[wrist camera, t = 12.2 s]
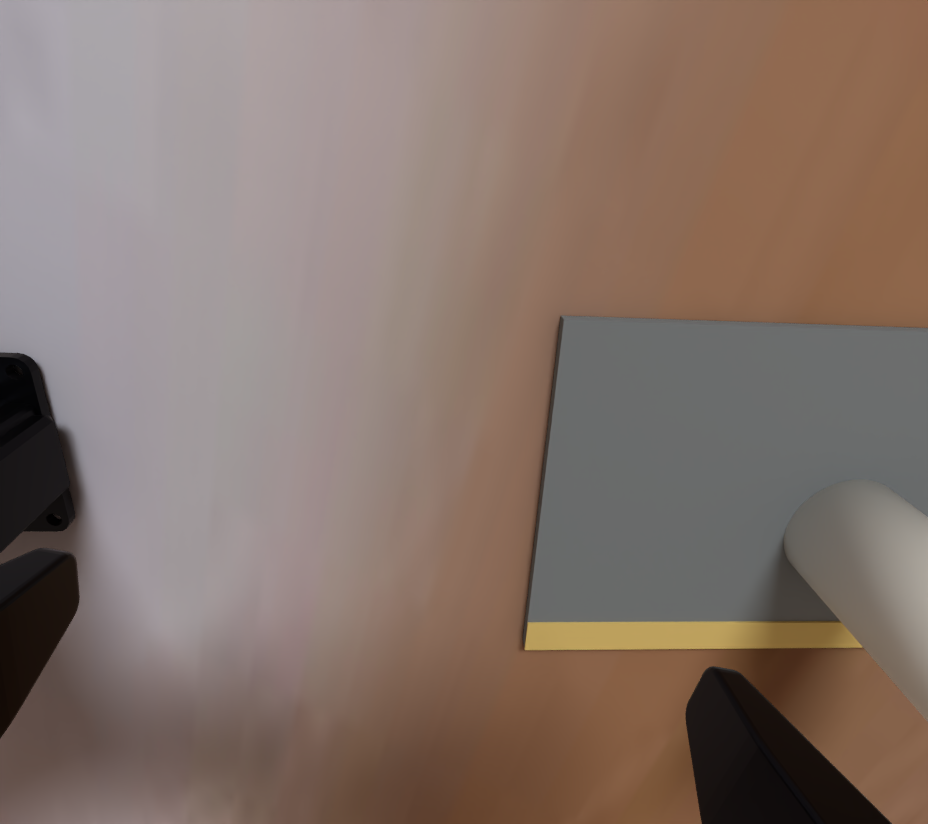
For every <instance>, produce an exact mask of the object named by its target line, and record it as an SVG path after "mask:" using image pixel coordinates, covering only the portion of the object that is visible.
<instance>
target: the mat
mask: <svg viewBox="0 0 928 824" xmlns="http://www.w3.org/2000/svg"><path fill="white" fill-rule="evenodd" d="M861 479H863V480H871V481H875V482H879V483H881V484H883V485H885V486H887V487H888V488H890V489H891V490H892V491H894V492H895V493H896V494H898V495H899V496H900V497H902V498H903V499H904V500H906V501H907V502H908V503H910V504H911V505H912V506H914V507H915V508H916V509H918V510H919V511H920V512H922V513H923V514H924V515H926V516H927V517H928V328H908V327H879V326H850V325H820V324H791V323H762V322H732V321H703V320H674V319H644V318H615V317H586V316H561V318H560V327H559V335H558V344H557V352H556V361H555V369H554V378H553V386H552V394H551V403H550V411H549V420H548V428H547V437H546V445H545V454H544V462H543V471H542V479H541V488H540V496H539V505H538V513H537V522H536V530H535V539H534V547H533V556H532V564H531V573H530V581H529V589H528V598H527V606H526V615H525V623H524V632H523V644H524V649H525V650H610V649H746V648H863V647H862V645H861V644H860V643H859V642H858V641H857V640H856V639H855V637H854V636H853V635H852V634H851V633H850V632H849V630H848V629H847V628H846V627H845V626H844V625H843V624H842V622H841V621H840V620H839V619H838V618H837V617H836V615H835V614H834V613H833V612H832V611H831V610H830V609H829V607H828V606H827V605H826V604H825V603H824V602H823V600H822V599H821V598H820V597H819V596H818V595H817V594H816V592H815V591H814V590H813V589H812V588H811V587H810V585H809V584H808V583H807V582H806V581H805V580H804V579H803V577H802V576H801V575H800V574H799V573H798V572H797V570H796V569H795V568H794V567H793V566H792V565H791V564H790V562H789V560H788V559H787V557H786V554H785V550H784V536H785V532H786V528H787V526H788V524H789V522H790V520H791V518H792V516H793V515H794V514H795V512H796V511H797V510H798V509H799V507H800V506H801V505H802V504H803V503H804V502H806V501H807V500H808V499H809V498H810V497H812V496H813V495H814V494H816V493H817V492H819V491H821V490H823V489H824V488H827V487H829V486H831V485H834V484H837V483H839V482H844V481H848V480H861Z"/></svg>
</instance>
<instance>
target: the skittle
mask: <svg viewBox="0 0 928 824" xmlns="http://www.w3.org/2000/svg"><path fill="white" fill-rule="evenodd" d="M784 550H785V554H786V557H787V559H788V560H789V562H790V564H791V565H792V566H793V567H794V568H795V569H796V570H797V572H798V573H799V574H800V575H801V576H802V577H803V579H804V580H805V581H806V582H807V583H808V584H809V585H810V587H811V588H812V589H813V590H814V591H815V592H816V594H817V595H818V596H819V597H820V598H821V599H822V600H823V602H824V603H825V604H826V605H827V606H828V607H829V609H830V610H831V611H832V612H833V613H834V614H835V615H836V617H837V618H838V619H839V620H840V621H841V622H842V624H843V625H844V626H845V627H846V628H847V629H848V630H849V632H850V633H851V634H852V635H853V636H854V637H855V639H856V640H857V641H858V642H859V643H860V644H861V645H862V647H863V648H864V649H865V650H866V651H867V652H868V654H869V655H870V656H871V657H872V658H873V659H874V660H875V662H876V663H877V664H878V665H879V666H880V667H881V669H882V670H883V671H884V672H885V673H886V674H887V675H888V677H889V678H890V679H891V680H892V681H893V682H894V684H895V685H896V686H897V687H898V688H899V689H900V690H901V692H902V693H903V694H904V695H905V696H906V697H907V699H908V700H909V701H910V702H911V703H912V704H913V705H914V707H915V708H916V709H917V710H918V711H919V712H920V714H921V715H922V716H923V717H924V718H925V719H926V720H927V722H928V517H927V516H926V515H924V514H923V513H922V512H920V511H919V510H918V509H916V508H915V507H914V506H912V505H911V504H910V503H908V502H907V501H906V500H904V499H903V498H902V497H900V496H899V495H898V494H896V493H895V492H894V491H892V490H891V489H890V488H888V487H887V486H885V485H883V484H881V483H879V482H875V481H871V480H863V479H861V480H848V481H844V482H839V483H837V484H834V485H831V486H829V487H827V488H824V489H823V490H821V491H819V492H817V493H816V494H814V495H813V496H812V497H810V498H809V499H808V500H807V501H806V502H804V503H803V504H802V505H801V506H800V507H799V509H798V510H797V511H796V512H795V514H794V515H793V516H792V518H791V520H790V522H789V524H788V526H787V528H786V532H785V536H784Z"/></svg>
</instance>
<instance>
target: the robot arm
mask: <svg viewBox="0 0 928 824" xmlns="http://www.w3.org/2000/svg"><path fill="white" fill-rule="evenodd" d="M14 365H16V366H18V367H19V368H21V370H22V372H23V375H20V374H18V373H17V372H16V371H15V370H14ZM69 485H70V481H69V477H68V473H67V469H66V465H65V461H64V457H63V453H62V449H61V445H60V441H59V437H58V433H57V429H56V425H55V422H54V421H53V420H52V418H51V416H50V412H49V408H48V404H47V400H46V396H45V392H44V388H43V384H42V380H41V376H40V372H39V368H38V366H37V364H36V362H35V361H34V360H33V359H32V358H30V357H29V356H27V355H25V354H20V353H0V553H1V552H2V551H3V550H4V549H5V548H6V547H7V546H8V545H9V544H10V543H11V542H12V541H13V540H14V539H15V538H16V537H17V536H18V535H19V534H20V533H22V532H23V531H54V532H57V531H63V530H65V529H66V528H67V527H68V526H69V525H70V524H71V523H72V522H73V520H74V519H75V512H74V508H73V504H72V500H71V496H70V492H69V488H68V487H69ZM53 514H57V515H58V516H60V518H61V519H58V518H56V517H55V516H54V515H53ZM78 605H79V585H78V573H77V562H76V558H75V556H74V555H73V554H72V553H70V552H66V551H61V550H55V549H49V548H39V549H36V550H33V551H31V552H29V553H26V554H24V555H22V556H20V557H17V558H15V559H13V560H10V561H8V562H6V563H4V564H1V565H0V738H1V737H2V735H3V734H4V733H5V731H6V730H7V728H8V727H9V725H10V724H11V722H12V721H13V719H14V717H15V716H16V714H17V713H18V711H19V709H20V708H21V706H22V705H23V703H24V701H25V699H26V698H27V696H28V694H29V693H30V691H31V689H32V687H33V686H34V684H35V682H36V681H37V679H38V677H39V676H40V674H41V672H42V670H43V669H44V667H45V665H46V664H47V662H48V660H49V658H50V657H51V655H52V653H53V652H54V650H55V648H56V647H57V645H58V643H59V641H60V640H61V638H62V636H63V635H64V633H65V631H66V629H67V628H68V626H69V624H70V623H71V621H72V619H73V617H74V616H75V613H76V611H77V608H78ZM686 726H687V732H688V739H689V745H690V752H691V758H692V765H693V771H694V778H695V784H696V790H697V797H698V803H699V810H700V816H701V821H702V824H892V823H891V822H890V821H889V820H888V819H887V818H886V817H885V816H884V815H883V814H882V813H881V812H880V811H879V810H878V809H877V808H876V807H875V806H874V805H873V804H872V803H871V802H870V801H869V800H868V799H867V798H866V797H865V796H864V795H863V794H862V793H861V792H860V791H859V790H858V789H857V788H856V787H855V786H854V785H853V784H852V783H851V782H850V781H849V780H848V779H847V778H846V777H845V776H844V775H843V774H841V773H840V772H839V771H838V770H837V769H836V768H835V767H834V766H833V765H832V764H831V763H830V762H829V761H828V760H827V759H826V758H825V757H824V756H823V755H822V754H821V753H820V752H819V751H818V750H817V749H816V748H815V747H814V746H813V745H812V744H811V743H810V742H809V741H808V740H807V739H806V738H805V737H804V736H803V735H802V734H801V733H800V732H799V731H798V730H797V729H796V728H795V727H794V726H793V725H792V724H791V723H790V722H789V721H788V720H787V719H786V718H785V717H784V716H783V715H782V714H781V713H780V712H779V711H778V710H777V709H776V708H775V707H774V706H773V705H772V704H771V703H770V702H769V701H768V700H767V699H766V698H765V697H764V696H763V695H762V694H761V693H760V692H759V691H758V690H757V689H756V688H755V687H754V686H753V685H752V684H751V683H750V682H749V681H748V680H747V679H746V678H745V677H744V676H743V675H742V674H740V673H739V672H737V671H735V670H731V669H725V668H720V667H709V668H708V669H706V670H705V672H704V673H703V675H702V677H701V679H700V681H699V682H698V684H697V686H696V688H695V690H694V692H693V694H692V696H691V698H690V699H689V701H688V704H687V707H686Z"/></svg>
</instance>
